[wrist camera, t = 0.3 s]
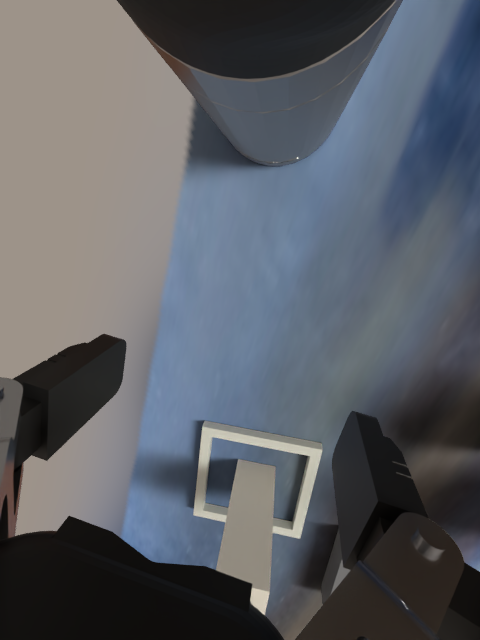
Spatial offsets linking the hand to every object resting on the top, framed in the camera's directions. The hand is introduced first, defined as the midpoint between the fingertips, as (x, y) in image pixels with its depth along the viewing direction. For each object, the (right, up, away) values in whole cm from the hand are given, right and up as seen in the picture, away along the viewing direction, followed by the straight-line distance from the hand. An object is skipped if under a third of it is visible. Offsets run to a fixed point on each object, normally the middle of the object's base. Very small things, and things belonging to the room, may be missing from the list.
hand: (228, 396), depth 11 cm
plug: (+2, -14, +24) cm, 28 cm away
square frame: (+2, -14, +24) cm, 28 cm away
